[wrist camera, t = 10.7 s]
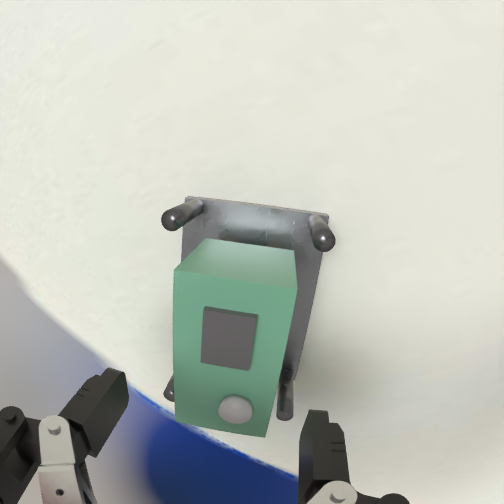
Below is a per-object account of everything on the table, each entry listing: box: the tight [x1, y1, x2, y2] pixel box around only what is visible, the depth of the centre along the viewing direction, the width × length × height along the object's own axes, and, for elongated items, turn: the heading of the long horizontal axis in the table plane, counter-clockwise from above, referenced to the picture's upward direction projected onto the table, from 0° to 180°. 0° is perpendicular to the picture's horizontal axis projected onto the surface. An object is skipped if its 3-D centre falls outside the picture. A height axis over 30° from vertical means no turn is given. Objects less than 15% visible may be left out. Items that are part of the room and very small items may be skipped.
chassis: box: [161, 196, 335, 421], centre depth 21 cm, size 14×10×6 cm
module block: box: [173, 238, 298, 437], centre depth 17 cm, size 10×6×7 cm, turn 173°
